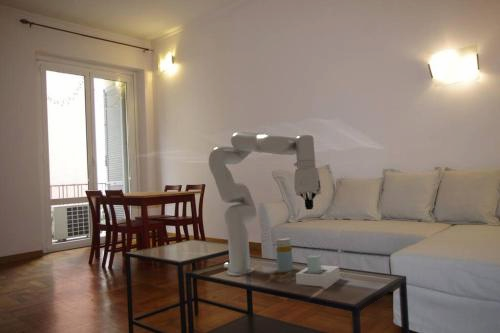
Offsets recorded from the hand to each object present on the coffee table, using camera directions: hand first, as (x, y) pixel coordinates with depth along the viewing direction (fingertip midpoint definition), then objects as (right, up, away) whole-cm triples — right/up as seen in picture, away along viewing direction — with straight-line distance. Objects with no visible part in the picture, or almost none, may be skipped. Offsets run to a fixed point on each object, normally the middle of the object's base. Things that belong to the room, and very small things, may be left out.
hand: (309, 209), depth 161 cm
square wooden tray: (-12, -30, -1) cm, 32 cm away
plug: (+1, -28, -8) cm, 29 cm away
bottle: (-8, -31, +16) cm, 36 cm away
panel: (+3, -29, -5) cm, 29 cm away
